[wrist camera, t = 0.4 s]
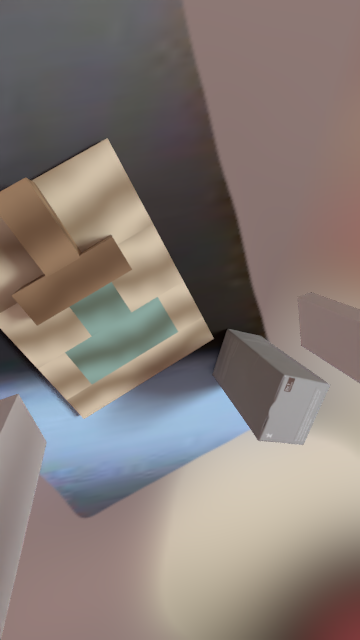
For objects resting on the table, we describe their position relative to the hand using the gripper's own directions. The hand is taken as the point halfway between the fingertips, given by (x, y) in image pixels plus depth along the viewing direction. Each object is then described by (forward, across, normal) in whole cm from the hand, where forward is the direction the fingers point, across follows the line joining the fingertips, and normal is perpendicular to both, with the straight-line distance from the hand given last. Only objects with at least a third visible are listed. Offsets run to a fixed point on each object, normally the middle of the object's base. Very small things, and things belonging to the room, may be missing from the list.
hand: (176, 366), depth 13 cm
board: (+26, -5, -2) cm, 26 cm away
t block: (+25, -7, +5) cm, 26 cm away
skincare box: (+26, +12, -18) cm, 33 cm away
